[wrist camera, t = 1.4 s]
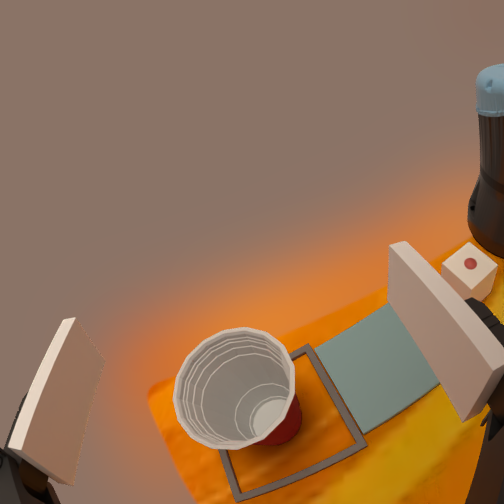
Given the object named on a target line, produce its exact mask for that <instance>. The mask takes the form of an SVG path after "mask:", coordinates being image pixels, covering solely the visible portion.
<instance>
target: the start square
mask: <svg viewBox="0 0 504 504" xmlns="http://www.w3.org/2000/svg"><path fill="white" fill-rule="evenodd" d="M306 353H307V355H308V357H309V359H310V361H311V362H312V364H313V366H314V368H315V370H316V371H317V373H318V375H319V377H320V378H321V380H322V382H323V384H324V386H325V387H326V389H327V391H328V393H329V395H330V396H331V398H332V400H333V402H334V403H335V405H336V407H337V409H338V411H339V412H340V414H341V416H342V418H343V420H344V421H345V423H346V425H347V427H348V428H349V430H350V432H351V434H352V436H353V437H354V439H355V441H356V444H354V445H352V446H351V447H349V448H347V449H345V450H343V451H341V452H339V453H337V454H335V455H333V456H331V457H329V458H327V459H325V460H323V461H321V462H319V463H317V464H315V465H313V466H311V467H308V468H306V469H304V470H302V471H300V472H297V473H295V474H293V475H290V476H288V477H285V478H283V479H280V480H278V481H275V482H273V483H270V484H267V485H265V486H262V487H259V488H256V489H253V490H251V491H248V492H245V493H241V490H240V487H239V484H238V481H237V478H236V475H235V472H234V469H233V466H232V463H231V460H230V457H229V454H228V451H227V449H218V450H219V453H220V456H221V460H222V463H223V466H224V469H225V472H226V475H227V479H228V482H229V485H230V488H231V491H232V493H233V496H234V499H235V502H241V501H244V500H247V499H250V498H253V497H256V496H259V495H262V494H265V493H268V492H270V491H273V490H276V489H278V488H281V487H284V486H286V485H289V484H291V483H294V482H296V481H298V480H301V479H303V478H305V477H308V476H310V475H312V474H314V473H316V472H319V471H321V470H323V469H325V468H327V467H329V466H331V465H333V464H335V463H337V462H339V461H341V460H343V459H345V458H347V457H349V456H351V455H353V454H354V453H356V452H358V451H360V450H362V449H363V448H365V447H367V446H368V445H367V444H366V442H365V440H364V438H363V437H362V435H361V433H360V431H359V430H358V428H357V426H356V424H355V423H354V421H353V419H352V418H351V416H350V414H349V412H348V411H347V409H346V407H345V405H344V404H343V402H342V400H341V398H340V397H339V395H338V393H337V392H336V390H335V388H334V386H333V385H332V383H331V381H330V379H329V378H328V376H327V374H326V372H325V371H324V369H323V367H322V366H321V364H320V362H319V360H318V359H317V357H316V355H315V353H314V352H313V350H312V348H311V347H310V345H309V343H308V344H306V345H304V346H302V347H301V348H299V349H297V350H295V351H293V352H292V353H290V354H289V356H290V358H291V360H292V361H293V360H295V359H297V358H299V357H300V356H302V355H304V354H306Z"/></svg>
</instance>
